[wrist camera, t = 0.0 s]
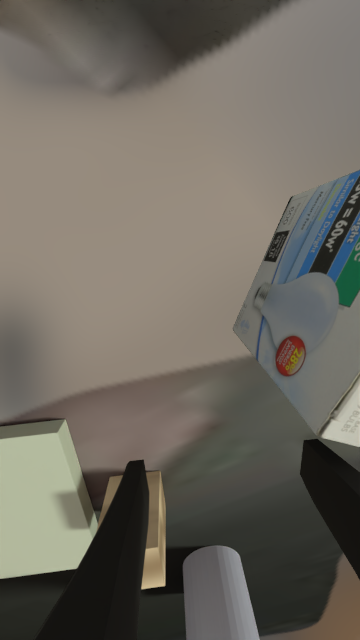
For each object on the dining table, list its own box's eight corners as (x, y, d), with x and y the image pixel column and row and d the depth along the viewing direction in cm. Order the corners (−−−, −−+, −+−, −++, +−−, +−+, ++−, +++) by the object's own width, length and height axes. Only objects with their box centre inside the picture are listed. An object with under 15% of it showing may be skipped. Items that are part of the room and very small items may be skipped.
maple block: (165, 504, 24) (165, 585, 18) (118, 510, 23) (103, 594, 18) (160, 470, 22) (158, 547, 16) (109, 476, 22) (90, 556, 16)
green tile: (104, 547, 25) (101, 565, 24) (-22, 563, 25) (-33, 583, 23) (65, 419, 19) (57, 432, 18) (-99, 437, 19) (-120, 453, 18)
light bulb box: (288, 194, 15) (552, 73, 5) (368, 228, 16) (728, 191, 6) (229, 333, 18) (313, 445, 8) (300, 355, 19) (459, 480, 9)
